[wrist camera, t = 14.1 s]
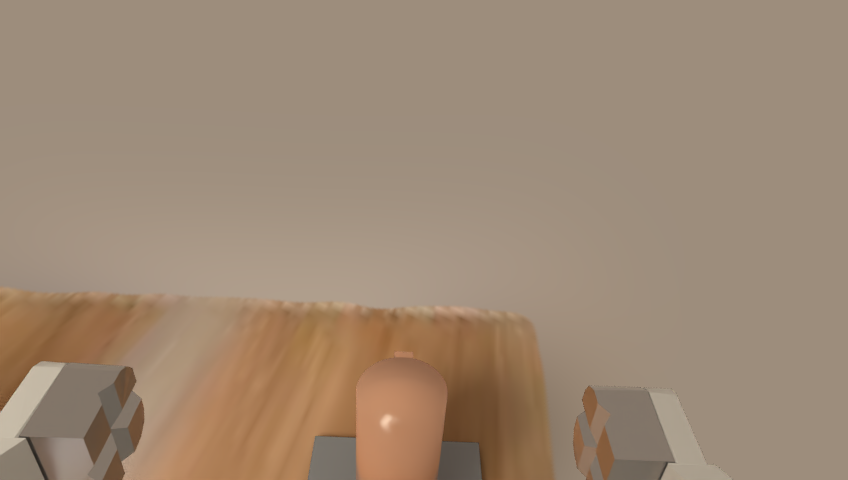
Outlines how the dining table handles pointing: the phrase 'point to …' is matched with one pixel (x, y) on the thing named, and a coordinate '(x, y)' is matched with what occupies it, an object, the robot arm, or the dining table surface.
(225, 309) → the dining table surface
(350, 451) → the mat
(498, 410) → the dining table surface
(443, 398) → the tall peach cylinder
